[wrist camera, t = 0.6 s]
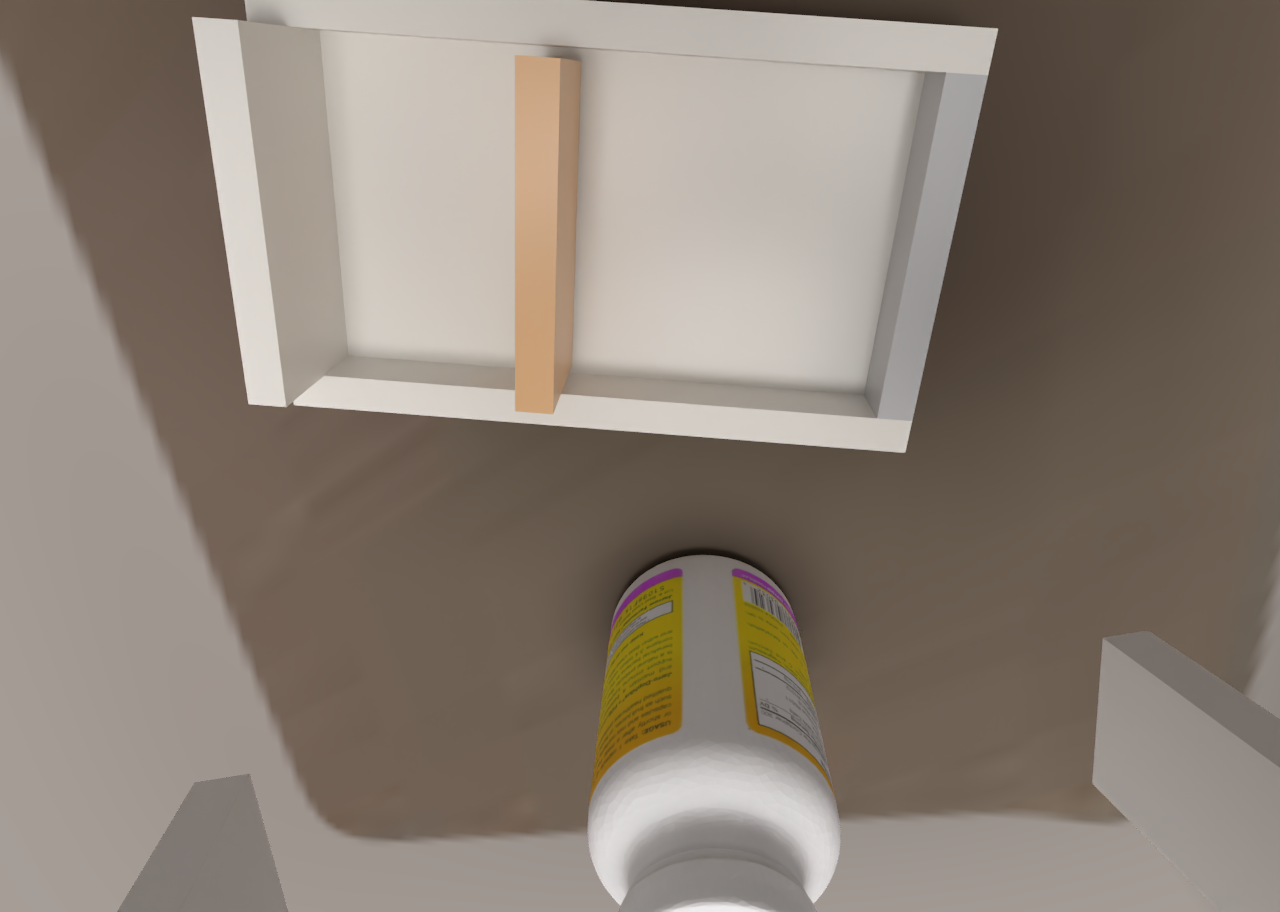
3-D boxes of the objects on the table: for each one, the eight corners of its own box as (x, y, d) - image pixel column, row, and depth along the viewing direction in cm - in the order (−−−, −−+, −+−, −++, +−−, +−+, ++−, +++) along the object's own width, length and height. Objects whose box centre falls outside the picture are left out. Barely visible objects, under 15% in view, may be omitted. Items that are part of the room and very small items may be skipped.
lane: (287, -13, 22) (184, -37, 17) (965, 33, 22) (1039, 22, 17) (327, 377, 27) (253, 439, 22) (885, 420, 26) (928, 492, 22)
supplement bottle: (608, 689, 31) (562, 1050, 20) (617, 538, 29) (570, 856, 17) (783, 703, 31) (841, 1076, 20) (809, 554, 28) (896, 886, 17)
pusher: (543, 58, 22) (514, 55, 18) (581, 61, 22) (560, 58, 18) (539, 363, 25) (515, 411, 22) (572, 365, 25) (552, 414, 22)
